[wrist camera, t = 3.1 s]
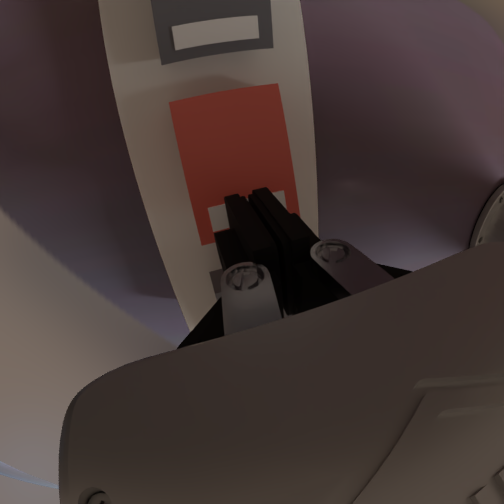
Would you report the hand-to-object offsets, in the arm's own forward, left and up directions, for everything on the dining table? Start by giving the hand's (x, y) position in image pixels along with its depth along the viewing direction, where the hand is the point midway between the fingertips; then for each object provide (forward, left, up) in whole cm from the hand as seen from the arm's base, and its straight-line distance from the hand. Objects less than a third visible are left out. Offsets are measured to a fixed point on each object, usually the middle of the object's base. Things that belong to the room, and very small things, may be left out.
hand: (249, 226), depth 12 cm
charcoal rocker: (0, -10, -3) cm, 10 cm away
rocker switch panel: (0, -2, -7) cm, 7 cm away
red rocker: (0, -2, -3) cm, 3 cm away
